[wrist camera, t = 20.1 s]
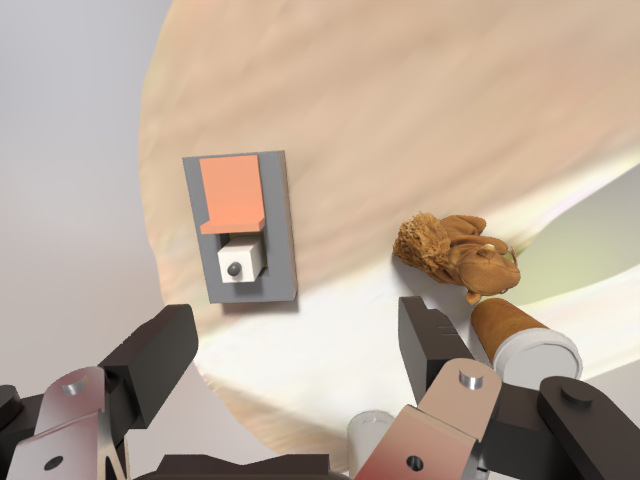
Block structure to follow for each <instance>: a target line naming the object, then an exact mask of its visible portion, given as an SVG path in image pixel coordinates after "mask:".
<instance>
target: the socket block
mask: <svg viewBox="0 0 640 480" xmlns="http://www.w3.org/2000/svg"><path fill="white" fill-rule="evenodd" d="M250 155H258V159H259V168H260V176H261V184H262V192H263V201H264V209H265V217H266V220H265V226H264V227H263V228H262V229H261V230H260V231H254V232H234V233H215V234H201V229H200V226H201V225H203V224H204V223H206V222H208V221H209V220H210V217H209V212H208V206H207V200H206V195H205V189H204V183H203V178H202V172H201V166H200V161H199V159H206V158H221V157H235V156H250ZM182 159H183V165H184V170H185V175H186V180H187V186H188V191H189V196H190V201H191V207H192V212H193V217H194V222H195V228H196V233H197V238H198V243H199V249H200V254H201V259H202V264H203V269H204V275H205V280H206V285H207V290H208V296H209V301H210V304H212V303H239V302H267V301H294V299H295V295H296V291H297V278H296V268H295V257H294V247H293V237H292V226H291V216H290V206H289V195H288V185H287V175H286V165H285V154H284V150H283V151H268V152H254V153H240V154H225V155H211V156H196V157H186V158H182ZM249 235H263V238H264V246H265V254H266V263H265V264H264V266H263V268H262V269H261V271H260V273H259V274H258V276H257V278H256V279H255V281H252V282H228V283H223V281H222V275H221V269H220V264H219V258H218V252H219V251H220V250H221V249H222V248H223V247H224V246H225V245H226V244H228V243H229V242H230V241H231V240H232V239H233V238H234V237H235V236H249Z"/></svg>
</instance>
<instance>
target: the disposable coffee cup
mask: <svg viewBox="0 0 640 480" xmlns="http://www.w3.org/2000/svg"><path fill="white" fill-rule="evenodd" d="M471 323H472V326H473V328H474V329H475V331H476V334H477V336H478V338H479V340H480V342H481V344H482V346H483V348H484V350H485V352H486V354H487V356H488V358H489V360H490V362H491V364H492V366H493V370H494V371H495V372H496V373H497V374H498V375H499V377H500V379H501V381H502V382H504V383H507V384H511V385H515V386H520V387H525V388H530V389H534V390H539V386H540V382H541V381H542V380H543V379H544V378H547V377H550V376H564V377H570V378H574V379H577V380H579V379H580V377H581V374H582V370H583V366H582V359H581V357H580V355H579V353H578V350H577V348H576V345H575V344H574V343H573V342H572V341H571V339H569V338H568V337H566V336H565V335H564V334H562V333H559V332H556V331H554V330H551V329H549V328H548V327H546V326H545V325H543V324H542V323H540V322H538V321H537V320H535V319H534V318H532V317H531V316H529V315H528V314H526V313H525V312H523V311H521V310H520V309H518V308H517V307H515V306H514V305H512V304H511V303H509V302H508V301H506V300H503V299H500V298H491V299H487V300H484V301H482V302H481V303H479V304H478V305H477V306H476V307H475V308H474V310H473V312H472V315H471Z"/></svg>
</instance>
